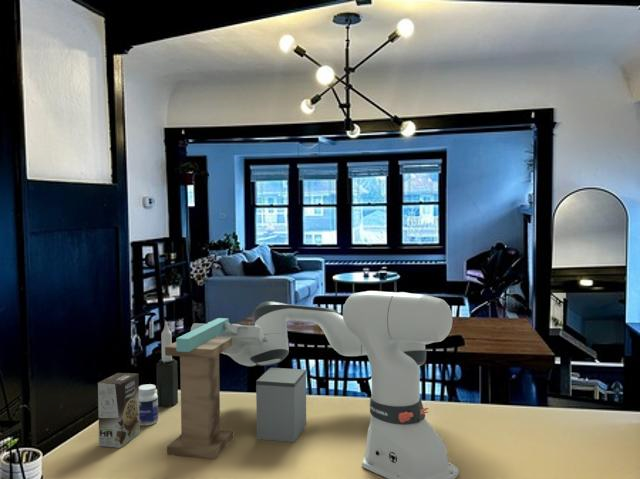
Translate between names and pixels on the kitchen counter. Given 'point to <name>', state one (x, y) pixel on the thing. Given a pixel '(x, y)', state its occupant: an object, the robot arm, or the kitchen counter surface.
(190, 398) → the walnut stand
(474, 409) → the kitchen counter surface
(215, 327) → the teal bar
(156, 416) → the pill bottle
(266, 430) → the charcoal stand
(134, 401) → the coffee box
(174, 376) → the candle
